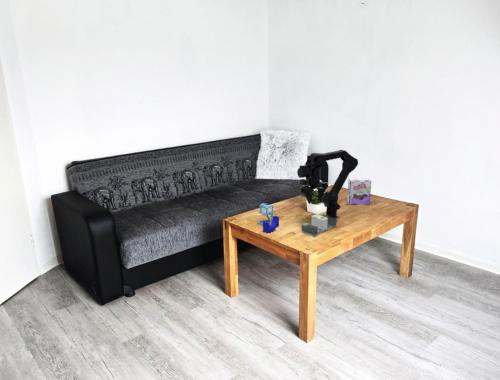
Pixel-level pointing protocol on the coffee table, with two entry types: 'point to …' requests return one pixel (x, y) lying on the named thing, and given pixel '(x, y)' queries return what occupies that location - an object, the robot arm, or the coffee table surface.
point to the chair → (266, 213)
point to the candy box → (359, 191)
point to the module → (319, 222)
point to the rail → (314, 230)
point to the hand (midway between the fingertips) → (314, 201)
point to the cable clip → (273, 225)
